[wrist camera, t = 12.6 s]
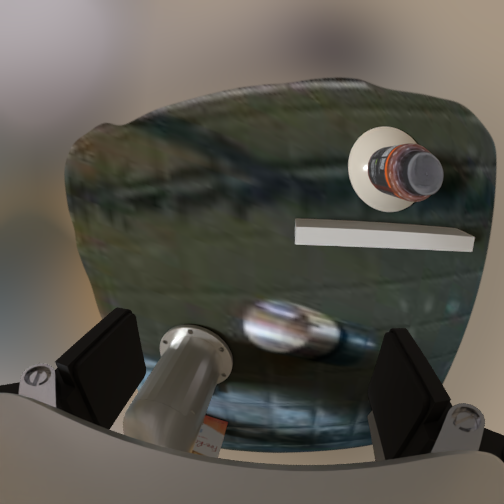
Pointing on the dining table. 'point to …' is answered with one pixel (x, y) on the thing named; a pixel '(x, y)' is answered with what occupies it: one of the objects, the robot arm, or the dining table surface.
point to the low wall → (380, 235)
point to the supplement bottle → (405, 172)
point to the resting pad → (359, 167)
